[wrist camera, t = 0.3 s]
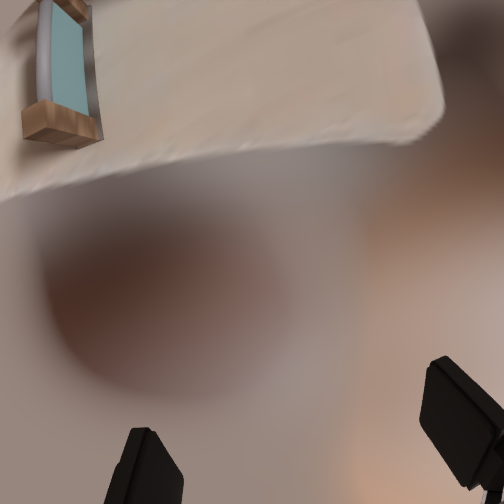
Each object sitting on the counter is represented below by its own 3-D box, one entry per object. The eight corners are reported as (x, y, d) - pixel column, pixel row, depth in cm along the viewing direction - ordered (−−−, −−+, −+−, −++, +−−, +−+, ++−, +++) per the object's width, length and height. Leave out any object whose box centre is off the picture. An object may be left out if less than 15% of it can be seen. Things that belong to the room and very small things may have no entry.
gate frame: (69, 17, 29) (27, -20, 16) (91, 6, 29) (54, -36, 16) (78, 149, 34) (19, 140, 21) (103, 139, 34) (50, 125, 21)
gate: (72, 28, 29) (37, -1, 18) (82, 23, 29) (49, -8, 18) (78, 122, 32) (34, 108, 22) (89, 117, 32) (47, 101, 22)
